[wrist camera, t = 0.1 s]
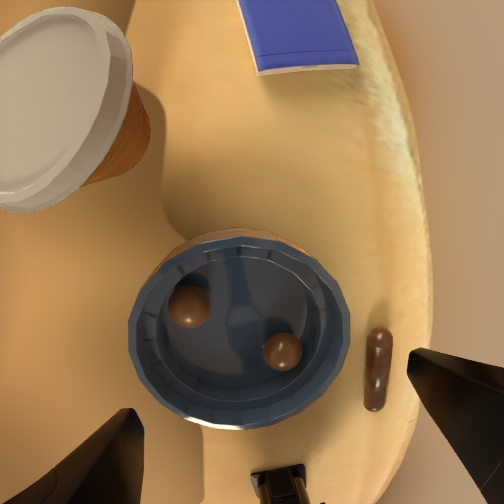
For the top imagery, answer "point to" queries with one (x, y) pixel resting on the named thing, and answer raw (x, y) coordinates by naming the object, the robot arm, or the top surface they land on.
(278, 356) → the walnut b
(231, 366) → the bowl
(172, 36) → the top surface
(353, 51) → the hard drive
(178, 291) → the glossy brown ball
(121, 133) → the disposable coffee cup
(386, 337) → the stick
